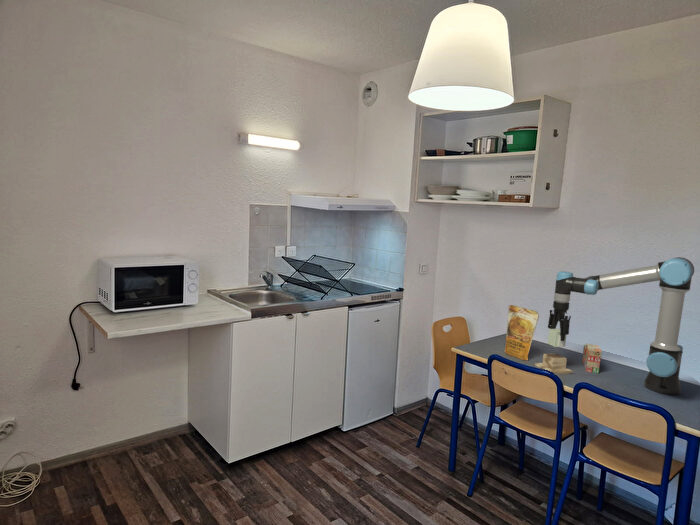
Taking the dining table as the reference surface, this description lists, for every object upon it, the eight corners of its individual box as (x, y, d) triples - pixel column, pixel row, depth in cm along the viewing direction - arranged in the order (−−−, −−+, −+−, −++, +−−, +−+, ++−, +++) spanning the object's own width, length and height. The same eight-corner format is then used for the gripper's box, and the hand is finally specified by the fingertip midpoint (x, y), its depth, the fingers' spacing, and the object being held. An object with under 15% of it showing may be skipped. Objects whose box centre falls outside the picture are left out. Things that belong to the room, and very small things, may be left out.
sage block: (565, 346, 248) (566, 331, 247) (555, 347, 247) (556, 332, 246) (557, 343, 254) (559, 328, 253) (547, 343, 253) (549, 328, 252)
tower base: (573, 373, 247) (574, 359, 246) (551, 374, 244) (553, 360, 243) (555, 364, 260) (557, 351, 259) (534, 365, 257) (536, 351, 256)
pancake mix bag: (507, 350, 281) (512, 303, 278) (534, 360, 265) (540, 311, 261) (499, 351, 278) (504, 304, 274) (526, 362, 261) (532, 312, 258)
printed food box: (581, 360, 272) (584, 339, 270) (594, 362, 269) (596, 340, 268) (585, 371, 252) (588, 349, 250) (598, 374, 250) (601, 351, 248)
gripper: (580, 305, 239) (574, 350, 242) (555, 297, 257) (550, 339, 260) (567, 305, 237) (562, 350, 240) (543, 297, 256) (538, 339, 259)
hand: (556, 344), depth 250 cm, fingers closed on sage block, 6 cm apart
